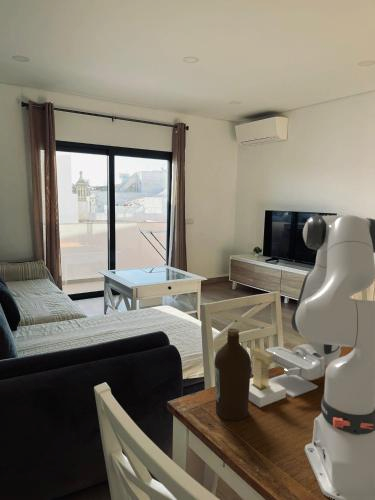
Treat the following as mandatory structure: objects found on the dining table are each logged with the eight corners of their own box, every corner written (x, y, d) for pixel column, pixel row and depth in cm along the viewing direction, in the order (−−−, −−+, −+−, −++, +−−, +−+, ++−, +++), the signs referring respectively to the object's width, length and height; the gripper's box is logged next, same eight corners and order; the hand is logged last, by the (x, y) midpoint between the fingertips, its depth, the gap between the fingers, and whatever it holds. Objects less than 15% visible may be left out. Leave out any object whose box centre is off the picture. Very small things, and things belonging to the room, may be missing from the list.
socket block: (285, 397, 114) (285, 388, 114) (259, 407, 109) (259, 398, 108) (261, 383, 124) (261, 374, 123) (236, 391, 118) (236, 382, 118)
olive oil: (248, 403, 111) (250, 324, 108) (251, 423, 101) (253, 337, 98) (214, 401, 112) (215, 323, 109) (213, 421, 102) (214, 335, 99)
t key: (273, 398, 114) (274, 355, 112) (265, 401, 112) (266, 357, 110) (255, 387, 120) (257, 346, 119) (248, 390, 119) (249, 348, 117)
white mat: (317, 387, 121) (317, 385, 121) (292, 397, 114) (292, 395, 114) (290, 373, 131) (290, 372, 131) (265, 381, 124) (265, 380, 124)
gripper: (281, 340, 134) (253, 347, 127) (328, 359, 117) (299, 369, 109) (281, 356, 135) (253, 364, 127) (327, 378, 117) (298, 389, 110)
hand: (274, 367), depth 118 cm, fingers open, 8 cm apart
